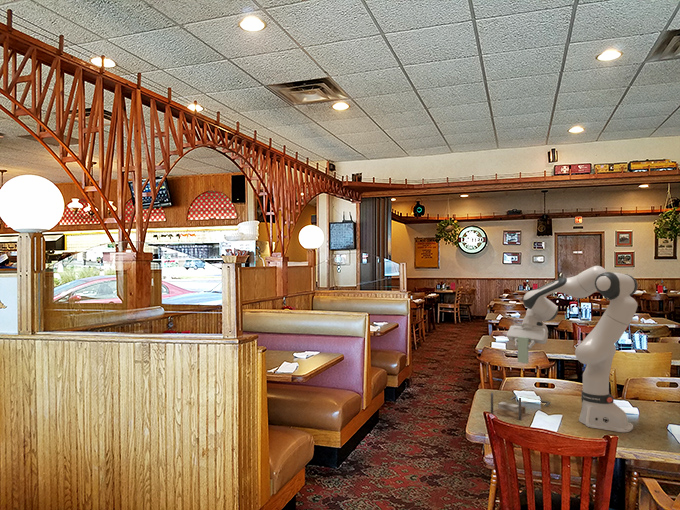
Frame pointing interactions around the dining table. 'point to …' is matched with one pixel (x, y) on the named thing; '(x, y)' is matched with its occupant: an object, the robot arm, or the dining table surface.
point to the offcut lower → (508, 413)
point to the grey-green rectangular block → (523, 349)
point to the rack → (521, 416)
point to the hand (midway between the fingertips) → (522, 347)
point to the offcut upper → (508, 407)
